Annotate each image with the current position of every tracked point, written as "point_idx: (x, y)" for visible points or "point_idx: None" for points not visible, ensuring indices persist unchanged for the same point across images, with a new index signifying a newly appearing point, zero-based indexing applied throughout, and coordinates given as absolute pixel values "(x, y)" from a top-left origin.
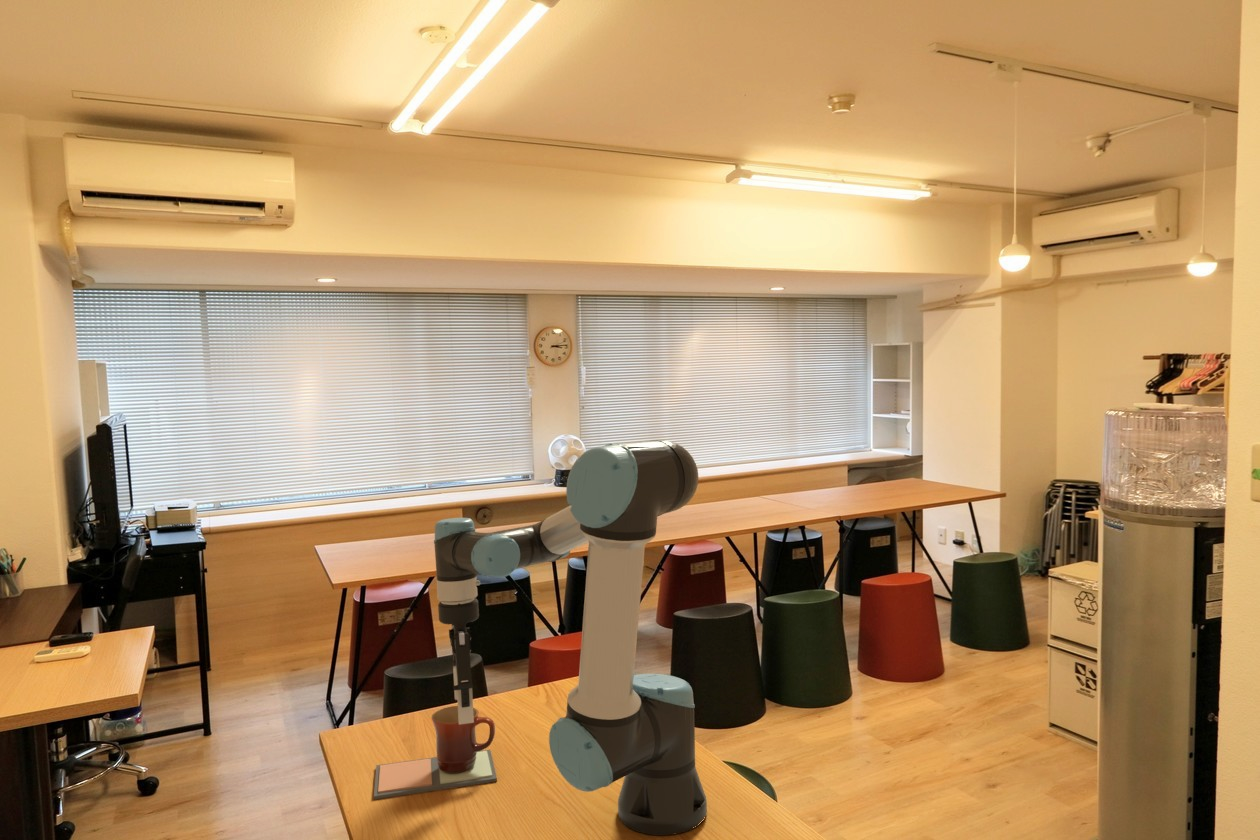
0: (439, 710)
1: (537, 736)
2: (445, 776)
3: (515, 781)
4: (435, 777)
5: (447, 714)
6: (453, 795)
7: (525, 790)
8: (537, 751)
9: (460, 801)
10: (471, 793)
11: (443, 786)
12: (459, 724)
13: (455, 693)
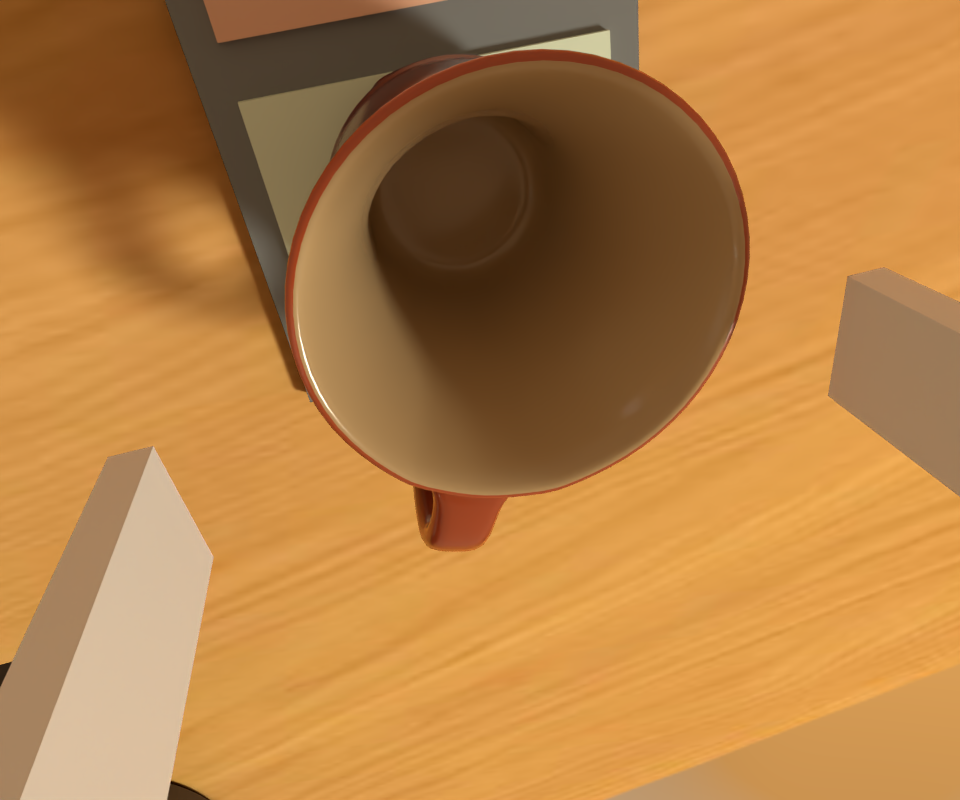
0: (690, 124)
1: (732, 483)
2: (322, 126)
3: (310, 466)
4: (334, 50)
5: (676, 193)
6: (140, 197)
7: (221, 513)
8: (589, 502)
9: (70, 249)
10: (174, 293)
11: (212, 126)
12: (107, 463)
13: (897, 310)
